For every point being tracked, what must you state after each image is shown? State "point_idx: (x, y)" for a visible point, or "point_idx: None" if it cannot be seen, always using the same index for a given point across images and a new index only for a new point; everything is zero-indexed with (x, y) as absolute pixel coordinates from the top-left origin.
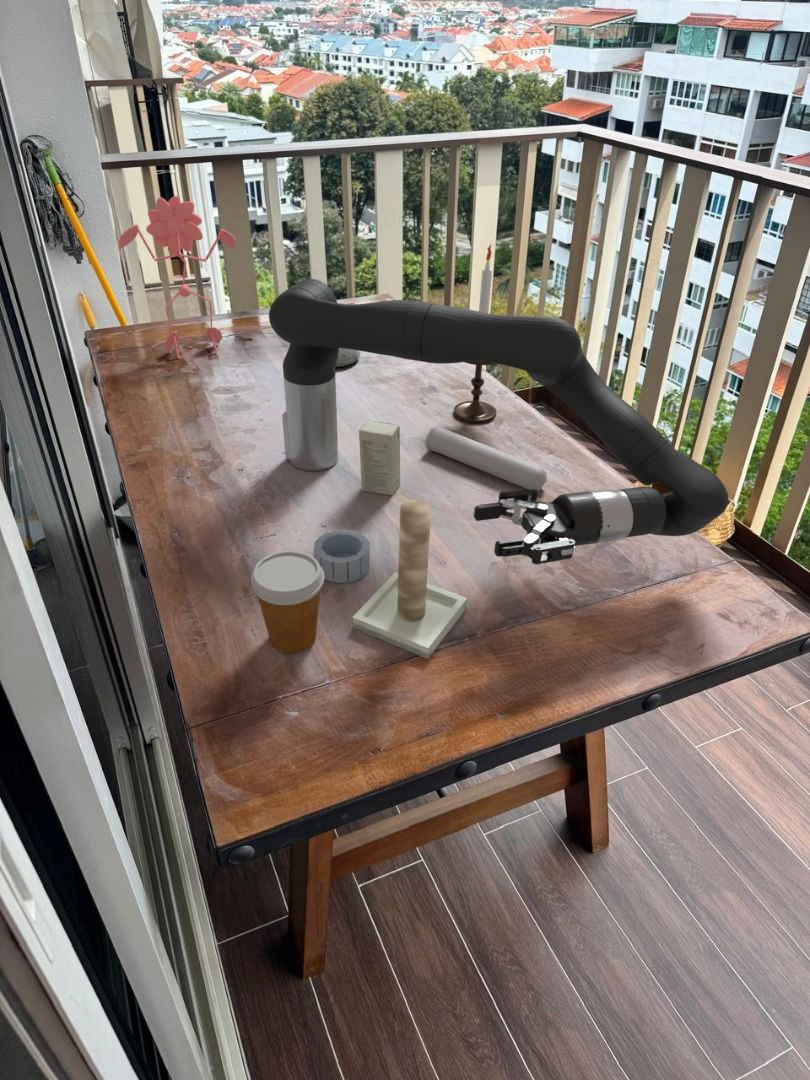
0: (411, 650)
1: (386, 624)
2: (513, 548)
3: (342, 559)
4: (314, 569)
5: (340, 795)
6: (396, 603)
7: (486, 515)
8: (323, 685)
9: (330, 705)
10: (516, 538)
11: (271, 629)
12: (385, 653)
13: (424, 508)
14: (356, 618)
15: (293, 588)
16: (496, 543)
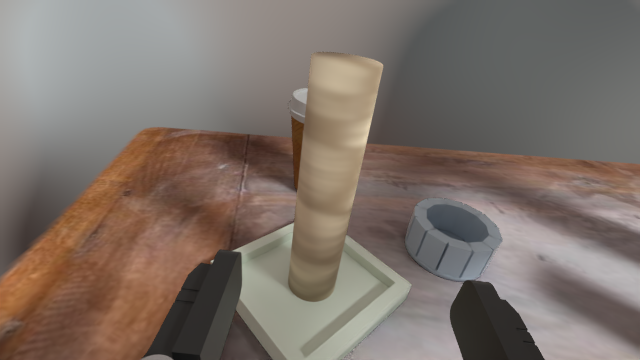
0: None
1: None
2: (175, 304)
3: (422, 214)
4: None
5: (111, 165)
6: (338, 270)
7: (470, 343)
8: (240, 187)
9: (211, 184)
10: (209, 326)
11: None
12: (253, 240)
13: (341, 62)
14: None
15: (299, 97)
16: (233, 251)
